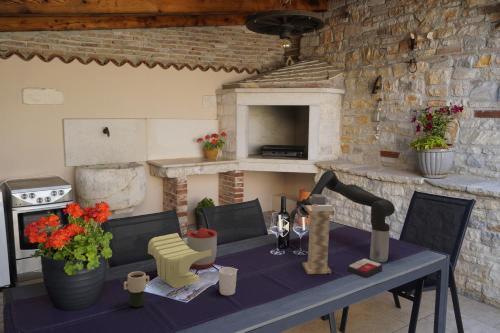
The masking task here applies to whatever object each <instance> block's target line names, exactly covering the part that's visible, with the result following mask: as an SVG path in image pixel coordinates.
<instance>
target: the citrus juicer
mask: <svg viewBox="0 0 500 333" xmlns="http://www.w3.org/2000/svg"><path fill="white" fill-rule="evenodd" d="M186 236H187V237H186V238H187V239H186V242H187V243H186V245H187V246H188V247H189V248H190V249H192V250H194V251H195V252H196V251H197V252H202V251H207V250H211V256H207V257H204V258H201V259H199V260H197V261H195V262H194V263H193V264H192V265H191V266H190V267H192V266H193V267H192V268H195V269H198V268H200V269H208V268H210V267H212V266H214V263H215V262H216V261H215V260H216V256H217V248H218V245H217V242H218V241H217V240H218V232H217V230H214V229H211V228H210V229H209V228H204V227H203V226H202V227H200V228H199V229H198V230H197V231H196V233H195V232H194V231H193V230H191V229H190V230H188V231H187V232H186Z"/></svg>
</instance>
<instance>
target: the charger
mask: <svg viewBox="0 0 500 333" xmlns="http://www.w3.org/2000/svg"><path fill="white" fill-rule="evenodd" d="M308 196H309V195H308ZM326 200H327V197H326V196H325V195H323V194H322V193H321V194H312V196H309V202H310V203H311V204H312V205H313V204H317V205H327V204H326V203H327V201H326Z"/></svg>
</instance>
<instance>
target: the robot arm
mask: <svg viewBox="0 0 500 333" xmlns="http://www.w3.org/2000/svg"><path fill="white" fill-rule="evenodd" d="M325 188H326V189H327V190H328V191H329V190H330V191H331V192H334V193H337V194H340V196H343V198H346V199H348V200H349V201H351V202H353V203H355V204H358V205H361V206H362V205H363V206H366V207H370V224H371V237H370V249H369V250H370V251H369V260H371V261H374V262H377V263H386V262H387V261H388V259H389V248H390V247H389V246H390V230H391V229H390V228H391V226H390V224H389V223H387V222H386V218H388V217H390V216H392V215H393V214H395V211H396V209H395V204H394V203H393V202H392V201H391V200H389V199H386V198H383V197H380V196H378V195H375V194H374V193H372V192H370V191H368V190H366V189H364V188H363V187H360V186H358V185H356V184H353V183H352V184H350V183H349V184H346V183H344V182H342V181H340V179H339V178H338V176H337V174H336V173H335V171H333V170H331V169H329V170H326V171H324V172H323V173H322V175H320V178H319V179H318V181H317V182H316V184H315V186H314V187H313V189H312V191H311V192H310V193H309V195H308V196H307V198H303V199H302V200H297V201H296V203H295V207H296V208H294V209H293V210H291V212H290V213H289V214H290V215H289V217H290V219H291V220H292V221H294V217H295V214H296V213H297V214H298V215H299V216H300V217H307V218H308V219H309V218H310V214H309V213H308V212H307V211H306V210H305V209H304V206H305V205H312V204H311V203H310V202H309V196H312V194H322V193H323V191H324V189H325Z"/></svg>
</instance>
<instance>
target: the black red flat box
mask: <svg viewBox="0 0 500 333" xmlns="http://www.w3.org/2000/svg"><path fill="white" fill-rule="evenodd" d="M347 272H348V273H351V274H354V275H356V276H359V277H363V278H365V279H368V278H370V277H372V276H373V275H376V274H379V273H380V272H381V273H382V272H383V263H381V262H375V261H372V260H371V259H368V258H362V259H361V260H357V261H355V262H354V263H351V264H348V266H347Z"/></svg>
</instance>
